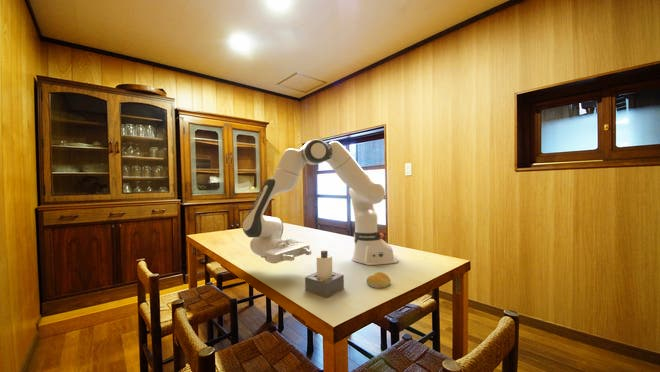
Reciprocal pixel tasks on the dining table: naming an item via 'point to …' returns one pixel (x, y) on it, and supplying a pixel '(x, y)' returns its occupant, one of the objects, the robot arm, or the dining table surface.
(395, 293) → the dining table surface
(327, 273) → the plug
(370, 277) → the bread roll
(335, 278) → the socket block
